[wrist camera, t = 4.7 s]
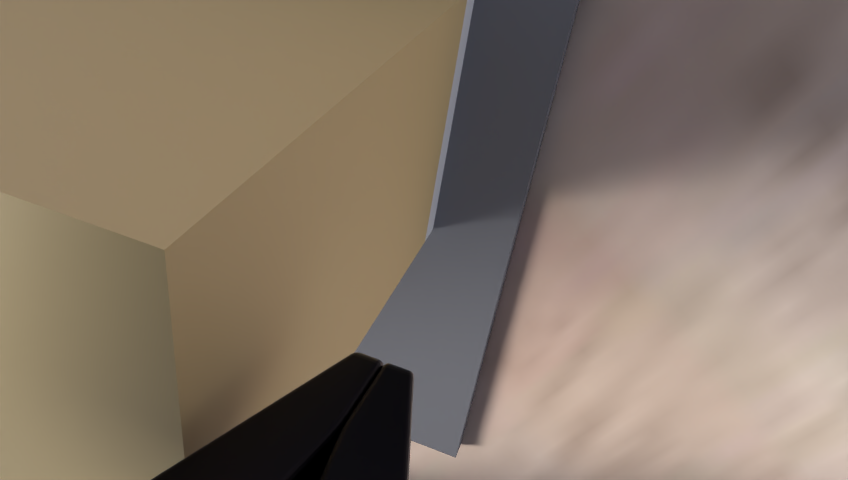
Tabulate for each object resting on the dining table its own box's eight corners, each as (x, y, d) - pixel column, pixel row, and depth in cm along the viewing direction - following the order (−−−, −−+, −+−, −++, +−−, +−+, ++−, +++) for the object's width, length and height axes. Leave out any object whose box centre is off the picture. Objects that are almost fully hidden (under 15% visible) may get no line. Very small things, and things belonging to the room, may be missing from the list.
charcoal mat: (460, 445, 22) (455, 457, 22) (-92, 235, 26) (-104, 242, 26) (739, -599, 9) (740, -615, 9) (-420, -679, 14) (-454, -694, 13)
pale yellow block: (432, 228, 17) (198, 598, 10) (221, 161, 19) (-144, 441, 11) (477, -16, 14) (164, 249, 6) (213, -80, 15) (-337, 72, 7)
